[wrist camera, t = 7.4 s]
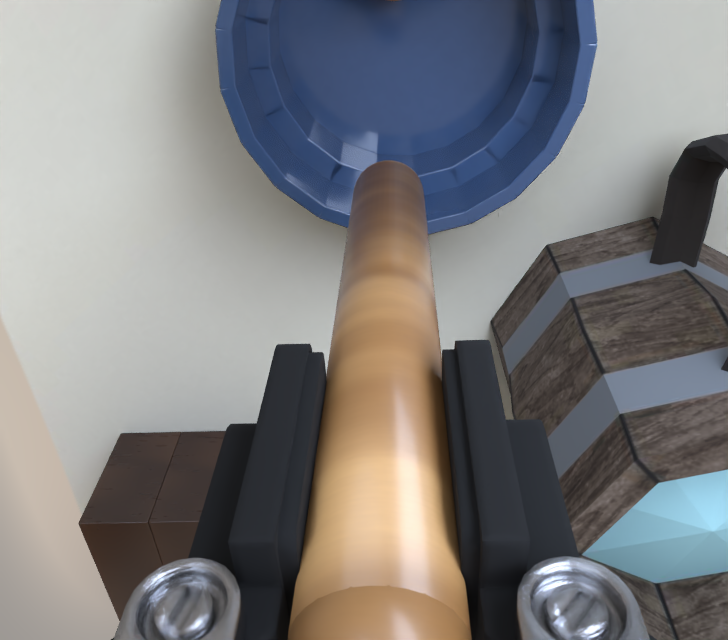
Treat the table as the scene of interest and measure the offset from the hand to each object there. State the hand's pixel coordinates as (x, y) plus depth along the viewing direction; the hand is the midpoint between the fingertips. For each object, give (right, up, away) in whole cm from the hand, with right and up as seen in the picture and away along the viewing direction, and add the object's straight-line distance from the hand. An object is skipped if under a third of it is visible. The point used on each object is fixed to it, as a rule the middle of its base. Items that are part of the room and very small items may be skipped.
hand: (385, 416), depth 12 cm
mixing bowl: (+1, +14, +18) cm, 23 cm away
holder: (-10, -10, +34) cm, 36 cm away
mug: (+13, +4, +24) cm, 28 cm away
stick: (0, +6, +9) cm, 11 cm away
